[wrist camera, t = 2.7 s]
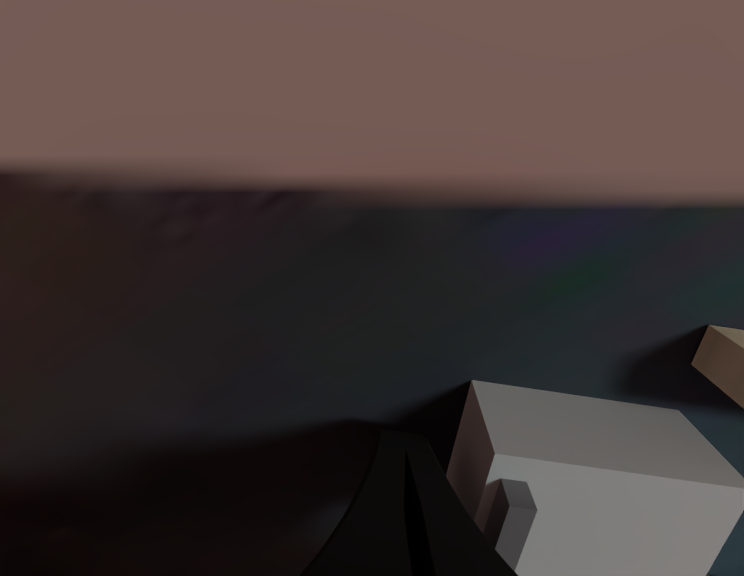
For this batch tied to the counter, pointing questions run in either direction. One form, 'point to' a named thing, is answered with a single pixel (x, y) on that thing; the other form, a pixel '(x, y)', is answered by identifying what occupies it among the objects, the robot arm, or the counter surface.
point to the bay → (723, 360)
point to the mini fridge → (591, 484)
